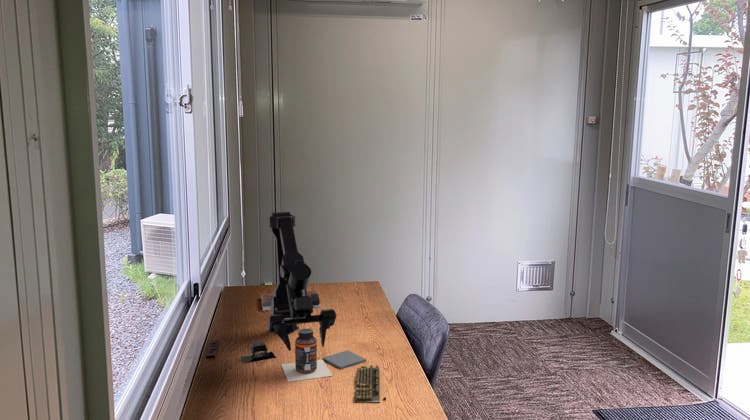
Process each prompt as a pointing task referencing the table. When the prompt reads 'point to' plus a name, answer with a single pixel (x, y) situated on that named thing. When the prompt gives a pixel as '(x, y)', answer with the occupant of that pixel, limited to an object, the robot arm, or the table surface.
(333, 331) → the table surface
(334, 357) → the slate coaster
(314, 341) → the supplement bottle
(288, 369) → the card
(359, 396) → the keyboard
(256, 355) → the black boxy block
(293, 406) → the table surface
